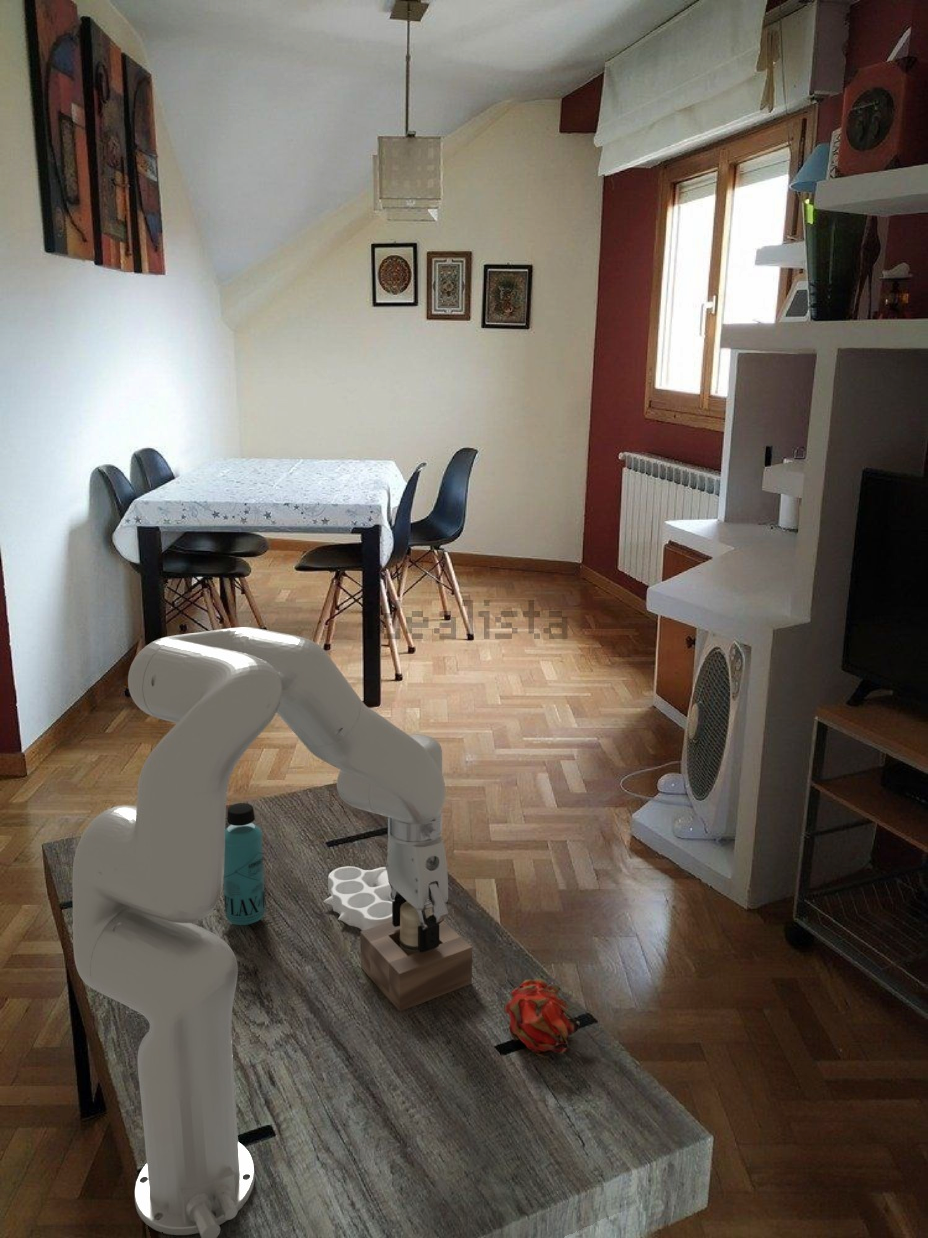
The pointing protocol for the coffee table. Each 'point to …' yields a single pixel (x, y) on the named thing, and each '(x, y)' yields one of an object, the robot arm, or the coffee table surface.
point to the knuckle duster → (360, 896)
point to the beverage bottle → (243, 867)
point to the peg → (410, 927)
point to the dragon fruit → (540, 1017)
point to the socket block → (415, 965)
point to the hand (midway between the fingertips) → (415, 935)
